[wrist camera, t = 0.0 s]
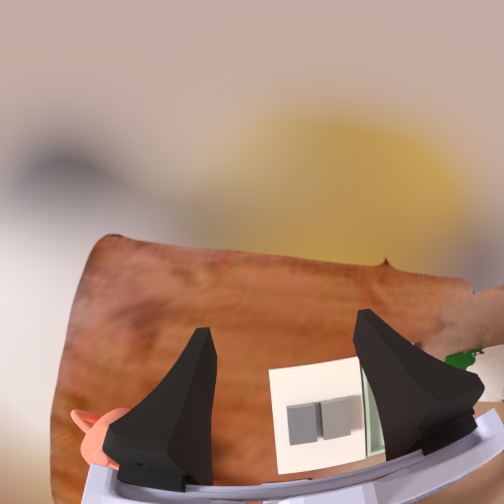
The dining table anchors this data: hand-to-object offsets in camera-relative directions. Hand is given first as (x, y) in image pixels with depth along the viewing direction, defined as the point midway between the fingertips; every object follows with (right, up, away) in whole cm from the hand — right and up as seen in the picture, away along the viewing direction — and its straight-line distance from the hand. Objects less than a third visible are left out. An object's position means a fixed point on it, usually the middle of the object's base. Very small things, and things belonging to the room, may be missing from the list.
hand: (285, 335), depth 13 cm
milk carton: (+37, -20, +25) cm, 48 cm away
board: (+9, -22, +25) cm, 35 cm away
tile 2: (+6, -21, +23) cm, 32 cm away
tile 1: (+11, -21, +22) cm, 33 cm away
